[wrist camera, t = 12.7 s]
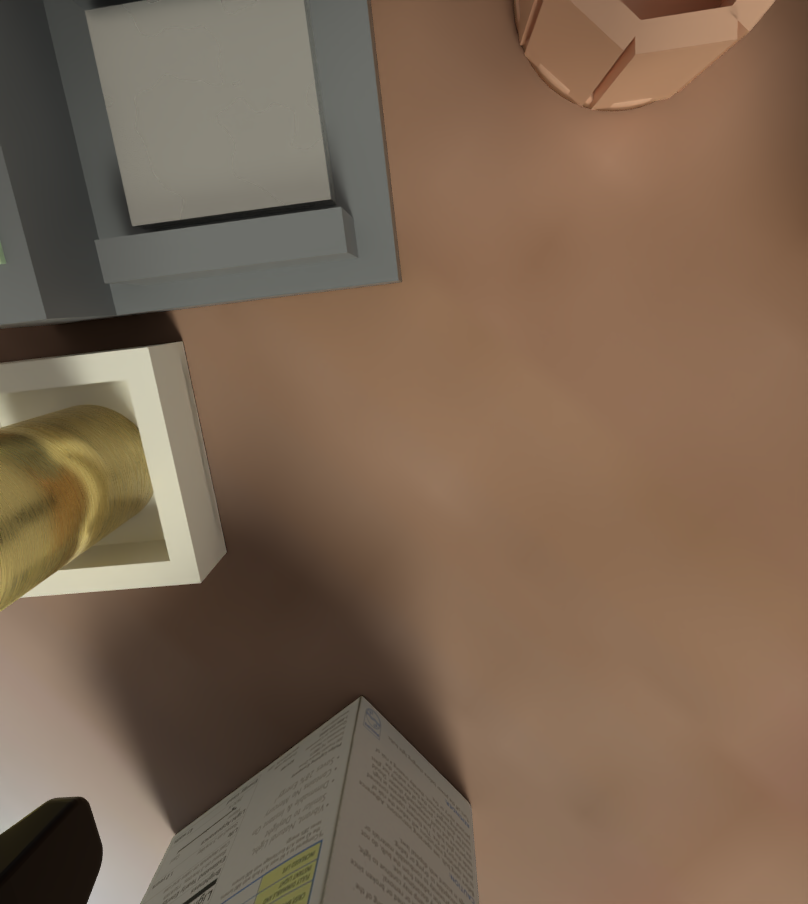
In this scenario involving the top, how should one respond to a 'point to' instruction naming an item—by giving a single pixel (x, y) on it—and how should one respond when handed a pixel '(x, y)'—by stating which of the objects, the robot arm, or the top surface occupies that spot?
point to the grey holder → (185, 246)
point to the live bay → (167, 455)
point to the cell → (64, 490)
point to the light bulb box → (330, 828)
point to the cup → (628, 45)
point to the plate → (213, 108)
